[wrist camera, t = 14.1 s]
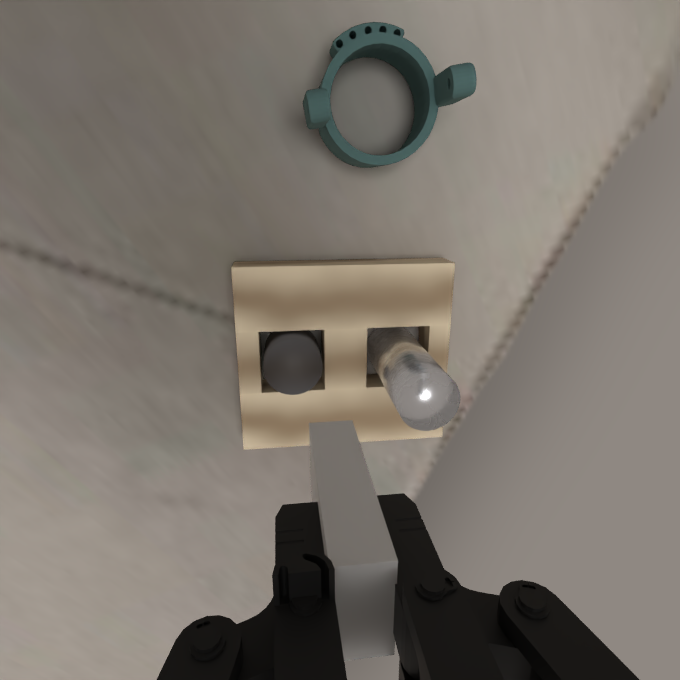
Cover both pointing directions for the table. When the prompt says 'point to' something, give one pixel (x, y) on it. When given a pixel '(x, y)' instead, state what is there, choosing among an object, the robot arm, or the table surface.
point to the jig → (330, 342)
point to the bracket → (415, 69)
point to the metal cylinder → (413, 379)
